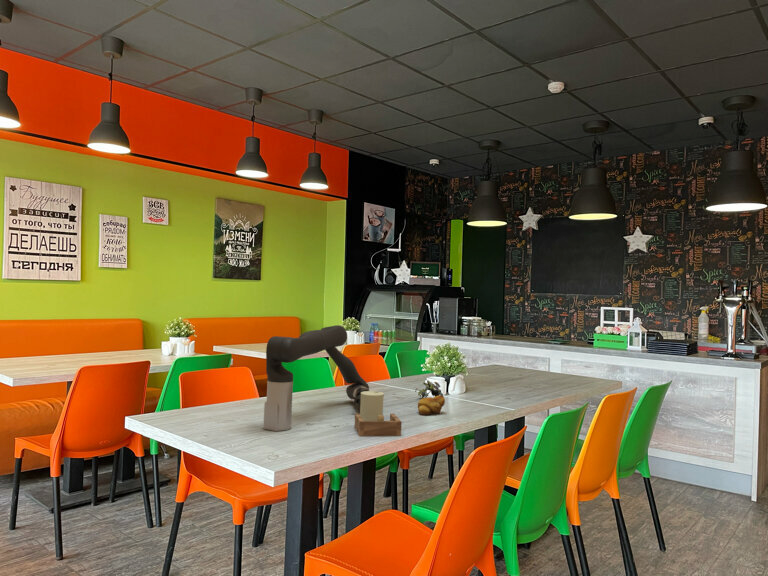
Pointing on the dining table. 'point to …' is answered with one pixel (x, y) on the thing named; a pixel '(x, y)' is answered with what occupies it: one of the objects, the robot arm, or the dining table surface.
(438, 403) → the bread roll
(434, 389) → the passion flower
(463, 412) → the dining table surface
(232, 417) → the dining table surface
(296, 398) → the dining table surface
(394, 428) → the brown open square box
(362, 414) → the can
